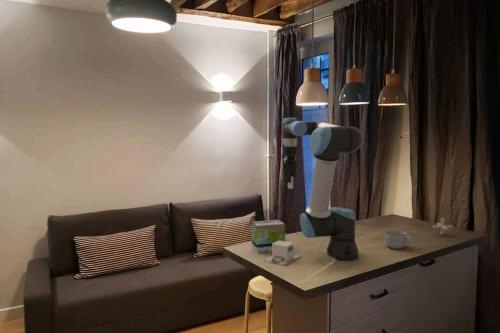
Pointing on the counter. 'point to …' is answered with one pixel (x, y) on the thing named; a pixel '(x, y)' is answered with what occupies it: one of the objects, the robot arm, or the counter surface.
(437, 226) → the pipe connector
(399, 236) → the teacup
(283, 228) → the tea box
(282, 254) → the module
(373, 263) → the counter surface
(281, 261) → the rail board
